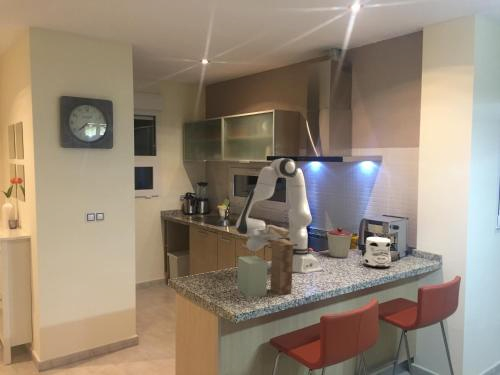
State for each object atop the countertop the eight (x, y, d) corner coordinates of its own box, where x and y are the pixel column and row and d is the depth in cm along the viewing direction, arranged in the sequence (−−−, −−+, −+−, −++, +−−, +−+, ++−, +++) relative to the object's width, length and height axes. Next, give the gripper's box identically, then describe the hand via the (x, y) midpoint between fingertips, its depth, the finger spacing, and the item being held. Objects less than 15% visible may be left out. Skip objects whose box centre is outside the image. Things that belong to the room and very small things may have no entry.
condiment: (356, 250, 326) (357, 234, 325) (345, 248, 330) (346, 233, 329) (359, 248, 332) (359, 233, 331) (348, 247, 336) (349, 232, 336)
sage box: (254, 287, 225) (255, 255, 224) (266, 295, 213) (267, 262, 211) (237, 289, 221) (238, 257, 220) (248, 297, 208) (249, 263, 207)
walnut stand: (282, 286, 228) (283, 238, 226) (295, 294, 216) (297, 244, 214) (265, 288, 224) (267, 239, 222) (278, 296, 211) (280, 245, 210)
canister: (347, 260, 291) (348, 230, 290) (322, 256, 300) (323, 227, 299) (354, 255, 307) (355, 227, 305) (330, 252, 316) (331, 224, 314)
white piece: (379, 270, 267) (381, 242, 266) (358, 264, 281) (359, 238, 280) (396, 267, 277) (397, 240, 276) (374, 261, 291) (375, 235, 290)
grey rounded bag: (381, 254, 313) (373, 260, 296) (382, 243, 313) (374, 248, 296) (402, 258, 305) (395, 263, 288) (403, 246, 304) (396, 251, 288)
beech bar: (271, 231, 232) (271, 224, 232) (289, 237, 214) (290, 231, 214) (266, 231, 231) (266, 225, 230) (284, 238, 213) (284, 231, 212)
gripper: (244, 232, 235) (254, 223, 224) (276, 230, 244) (287, 222, 233) (246, 243, 233) (256, 235, 222) (279, 241, 242) (290, 232, 230)
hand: (272, 228), depth 227 cm, fingers closed on beech bar, 3 cm apart
